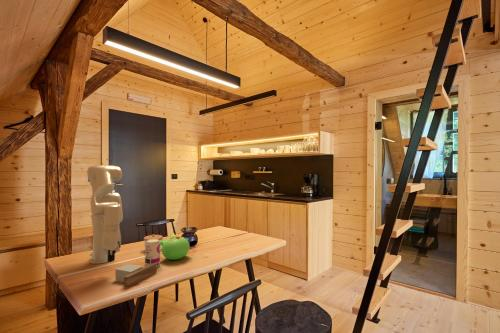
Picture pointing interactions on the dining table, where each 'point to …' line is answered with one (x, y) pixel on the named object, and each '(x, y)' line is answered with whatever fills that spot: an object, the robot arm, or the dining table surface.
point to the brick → (125, 271)
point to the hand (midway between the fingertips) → (111, 261)
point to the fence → (139, 275)
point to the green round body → (175, 247)
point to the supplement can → (152, 252)
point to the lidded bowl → (153, 238)
